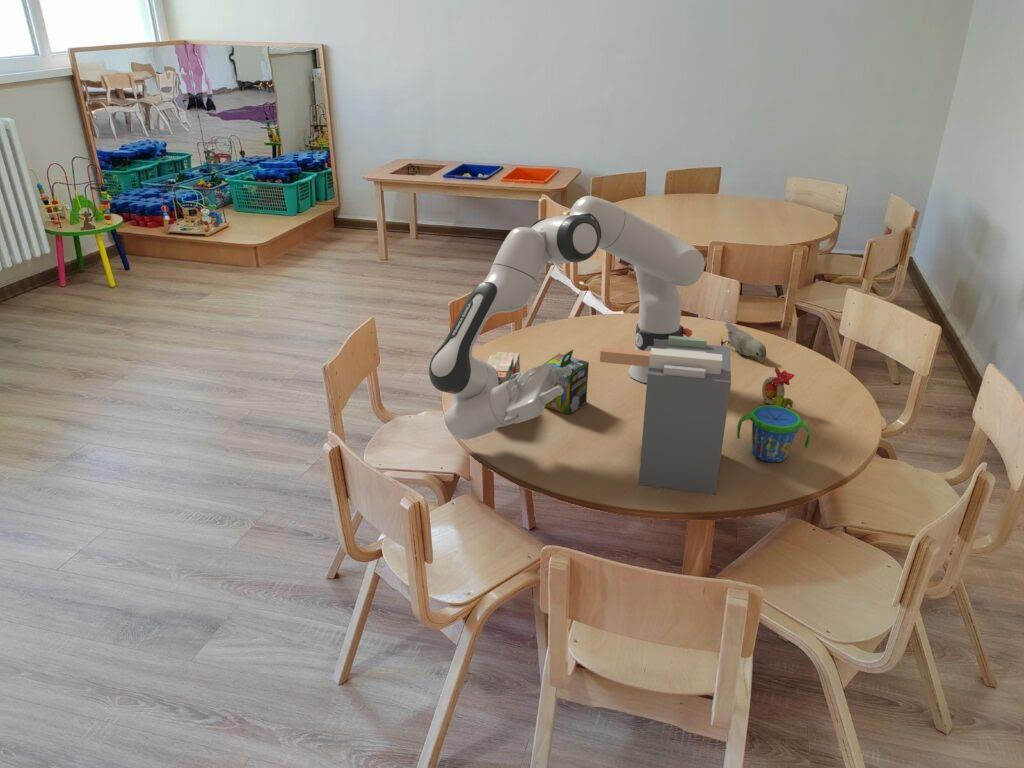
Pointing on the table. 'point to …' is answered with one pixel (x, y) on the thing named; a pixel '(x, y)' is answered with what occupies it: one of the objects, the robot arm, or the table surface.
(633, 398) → the table surface
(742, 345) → the decorative bird
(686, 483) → the cabinet
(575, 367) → the chalk box
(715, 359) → the lever bar
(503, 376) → the stack of blocks
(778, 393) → the bird rattle
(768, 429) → the snack cup
